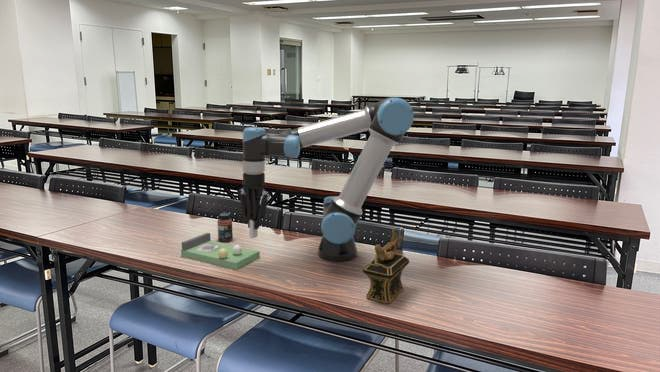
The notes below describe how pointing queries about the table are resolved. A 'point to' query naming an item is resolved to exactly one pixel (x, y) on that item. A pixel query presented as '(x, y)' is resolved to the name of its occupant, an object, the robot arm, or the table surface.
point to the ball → (237, 249)
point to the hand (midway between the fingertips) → (253, 236)
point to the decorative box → (386, 272)
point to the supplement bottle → (225, 228)
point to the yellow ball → (223, 253)
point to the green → (216, 252)
